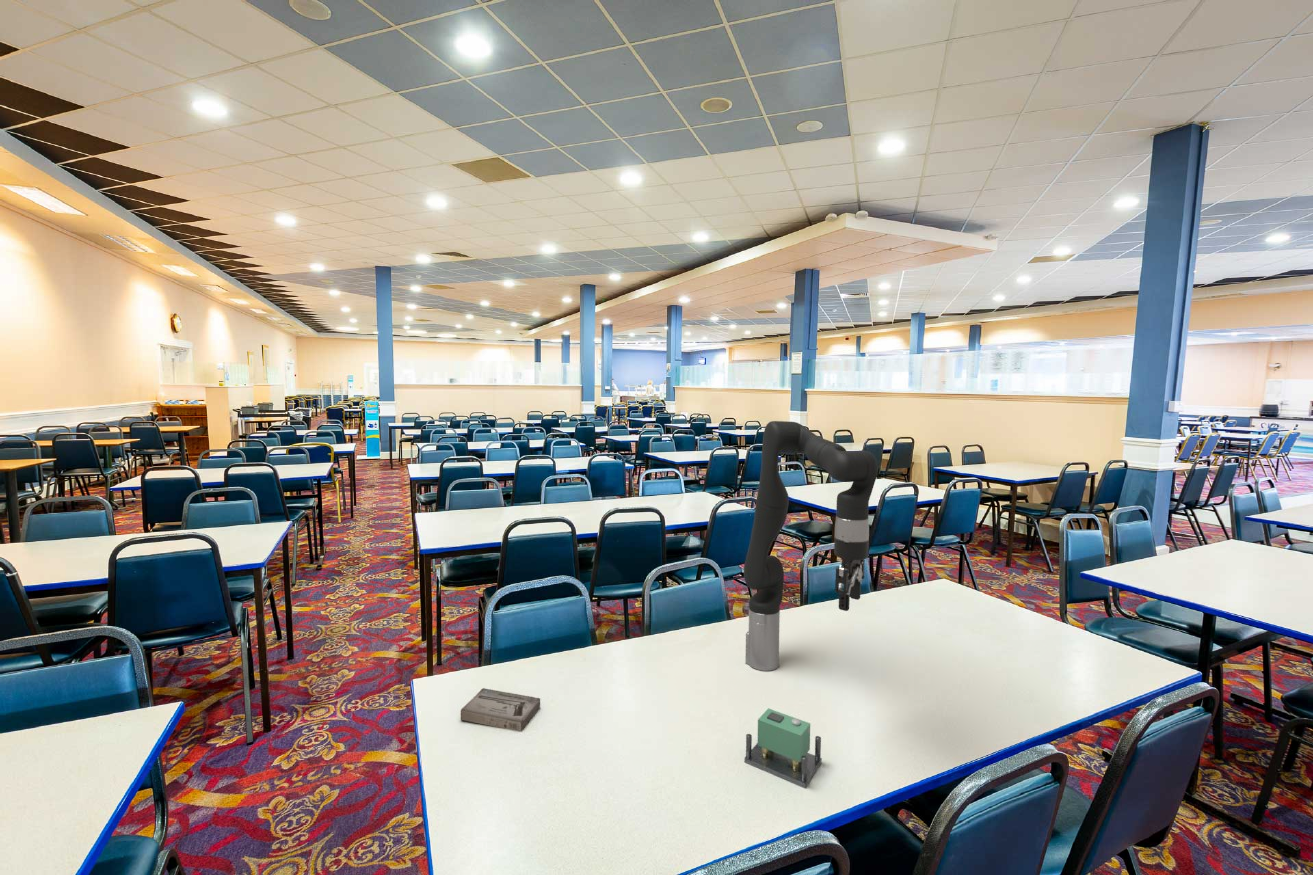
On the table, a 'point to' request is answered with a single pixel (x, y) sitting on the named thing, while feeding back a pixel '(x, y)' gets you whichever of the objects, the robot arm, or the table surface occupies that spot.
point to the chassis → (784, 762)
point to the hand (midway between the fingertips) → (849, 604)
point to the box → (500, 709)
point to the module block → (784, 734)
